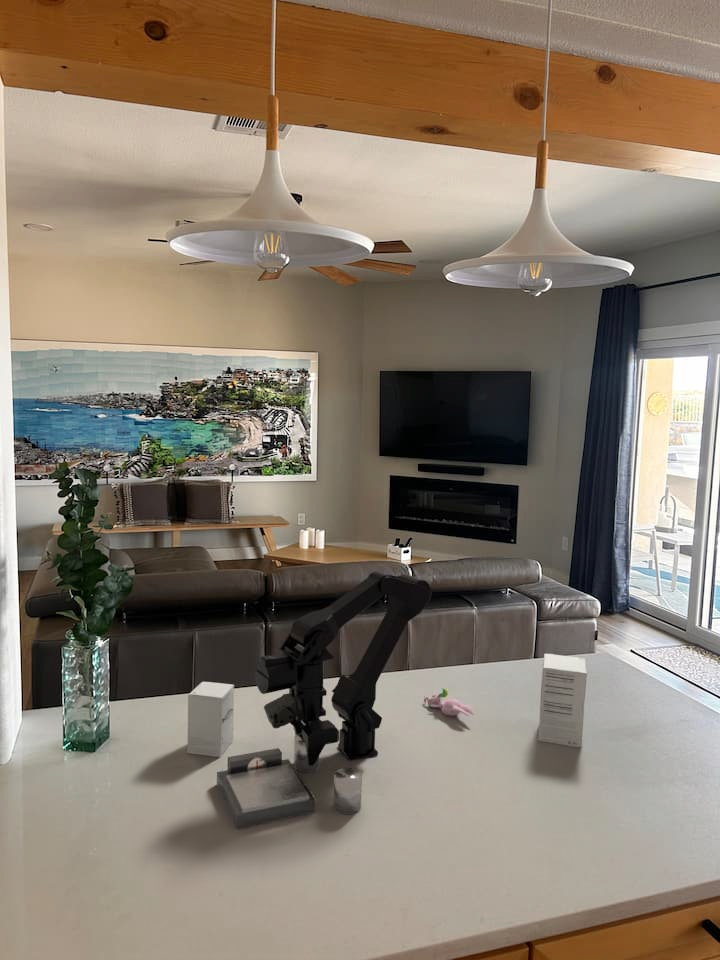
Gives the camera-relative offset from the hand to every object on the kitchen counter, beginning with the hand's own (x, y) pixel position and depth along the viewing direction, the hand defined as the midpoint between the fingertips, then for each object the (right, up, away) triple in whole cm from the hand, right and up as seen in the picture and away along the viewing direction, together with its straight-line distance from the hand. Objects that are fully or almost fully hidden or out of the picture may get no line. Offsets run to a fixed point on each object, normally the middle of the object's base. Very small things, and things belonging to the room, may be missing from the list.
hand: (306, 758), depth 142 cm
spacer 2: (+8, -3, -14) cm, 16 cm away
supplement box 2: (+55, -2, +17) cm, 57 cm away
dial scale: (-7, -3, -12) cm, 14 cm away
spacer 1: (0, -2, 0) cm, 2 cm away
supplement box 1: (-20, 0, +6) cm, 21 cm away
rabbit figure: (+31, 0, +26) cm, 41 cm away
